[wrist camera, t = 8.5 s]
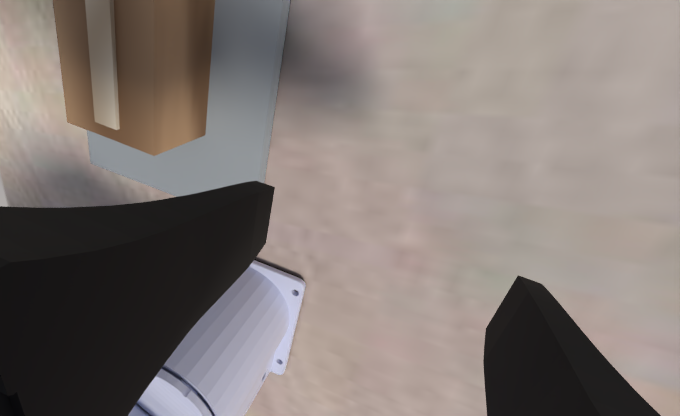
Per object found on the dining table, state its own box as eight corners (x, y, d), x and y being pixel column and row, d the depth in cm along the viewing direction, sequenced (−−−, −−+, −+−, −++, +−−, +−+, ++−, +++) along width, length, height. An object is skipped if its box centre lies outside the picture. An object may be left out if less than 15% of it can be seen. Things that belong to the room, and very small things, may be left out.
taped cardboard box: (219, -53, 17) (150, -77, 13) (205, 135, 21) (151, 157, 17) (125, -80, 17) (34, -109, 14) (130, 107, 22) (63, 123, 18)
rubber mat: (259, 219, 23) (252, 225, 23) (100, 159, 25) (90, 163, 25) (313, -159, 15) (305, -168, 14) (65, -208, 17) (48, -218, 16)
